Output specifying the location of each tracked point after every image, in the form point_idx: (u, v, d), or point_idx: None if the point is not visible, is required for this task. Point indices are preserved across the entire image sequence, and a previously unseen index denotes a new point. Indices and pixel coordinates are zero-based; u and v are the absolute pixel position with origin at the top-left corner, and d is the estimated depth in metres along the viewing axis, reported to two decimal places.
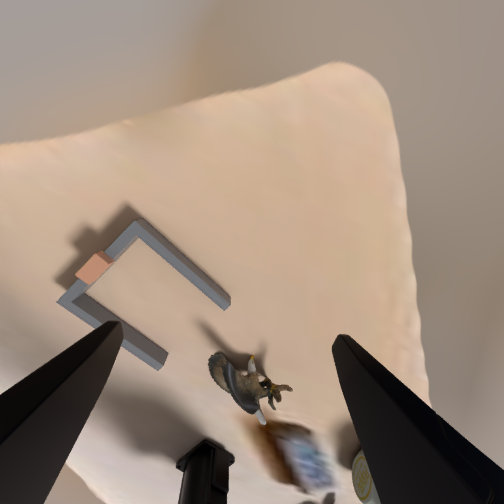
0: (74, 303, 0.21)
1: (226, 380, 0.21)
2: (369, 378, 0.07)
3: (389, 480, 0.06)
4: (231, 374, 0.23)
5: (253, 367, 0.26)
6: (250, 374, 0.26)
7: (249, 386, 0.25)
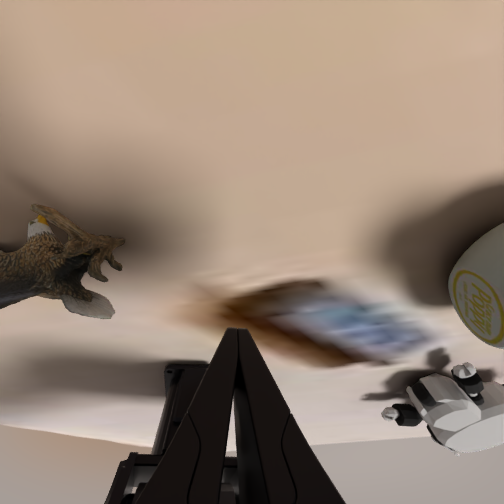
0: None
1: None
2: (242, 374, 0.06)
3: (243, 486, 0.06)
4: None
5: (31, 230, 0.11)
6: None
7: (15, 265, 0.10)
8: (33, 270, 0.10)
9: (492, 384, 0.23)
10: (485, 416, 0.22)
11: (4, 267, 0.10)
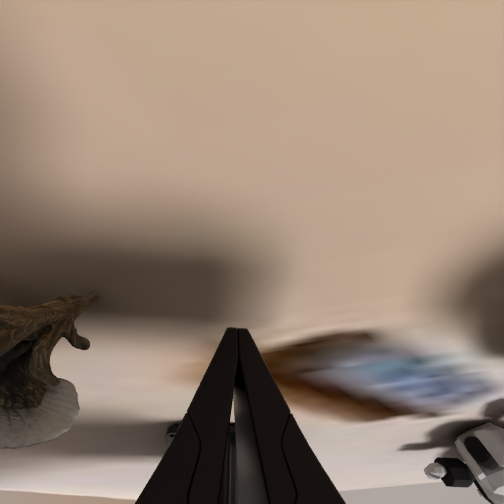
0: None
1: None
2: (242, 374, 0.06)
3: (243, 486, 0.06)
4: None
5: None
6: None
7: None
8: None
9: None
10: None
11: None
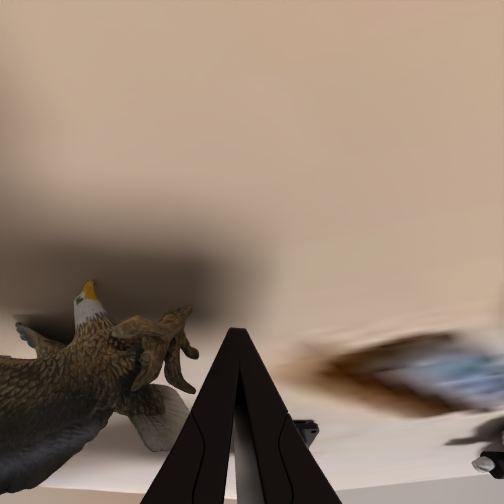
0: None
1: None
2: (239, 374, 0.06)
3: (240, 486, 0.06)
4: None
5: (80, 313, 0.08)
6: (75, 336, 0.08)
7: (64, 374, 0.07)
8: (91, 381, 0.07)
9: None
10: None
11: (49, 378, 0.07)
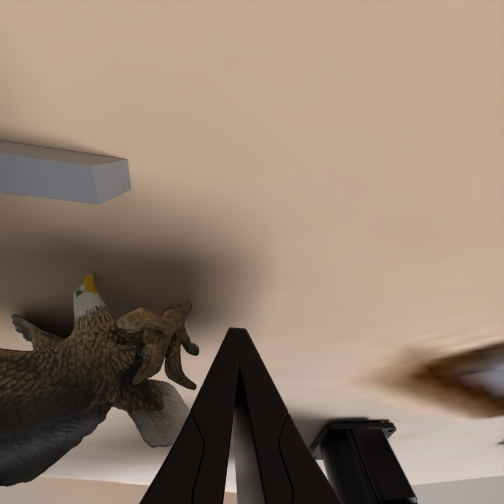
0: None
1: None
2: (240, 374, 0.06)
3: (241, 486, 0.06)
4: None
5: (79, 306, 0.08)
6: None
7: (62, 367, 0.07)
8: (89, 375, 0.07)
9: None
10: None
11: (47, 370, 0.07)
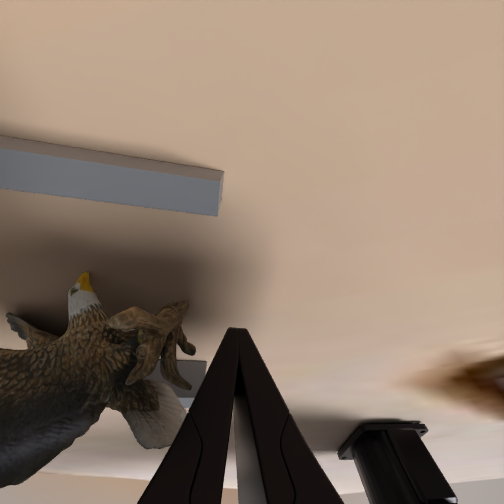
0: None
1: None
2: (241, 374, 0.06)
3: (242, 486, 0.06)
4: None
5: (74, 304, 0.08)
6: None
7: (55, 367, 0.07)
8: (83, 374, 0.07)
9: None
10: None
11: (40, 370, 0.07)
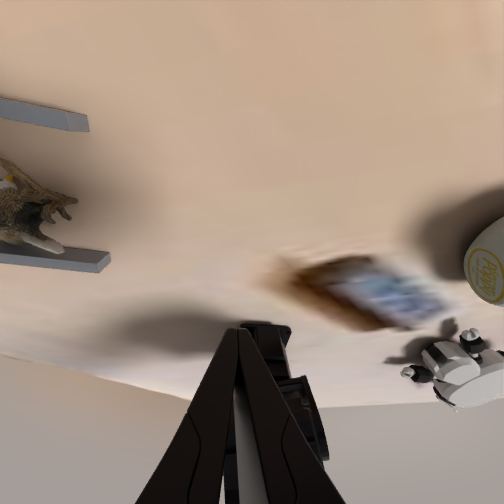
0: None
1: None
2: (242, 374, 0.06)
3: (243, 486, 0.06)
4: None
5: None
6: None
7: None
8: None
9: (488, 350, 0.29)
10: (483, 373, 0.28)
11: None
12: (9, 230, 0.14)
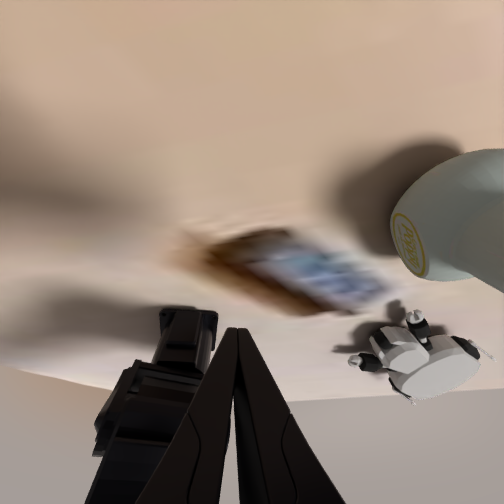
0: None
1: None
2: (242, 374, 0.06)
3: (243, 486, 0.06)
4: None
5: None
6: None
7: None
8: None
9: (441, 335, 0.27)
10: (433, 360, 0.25)
11: None
12: None
